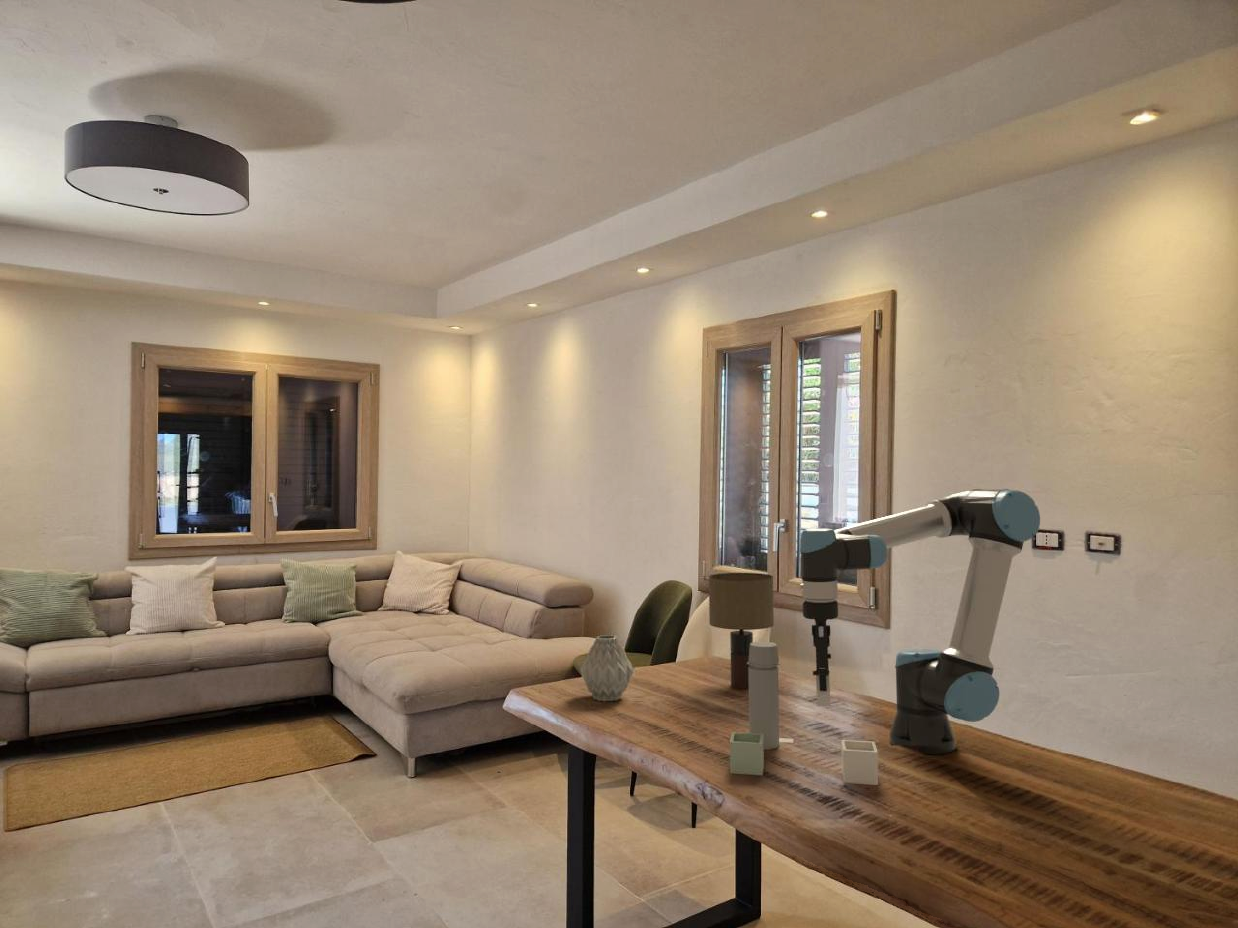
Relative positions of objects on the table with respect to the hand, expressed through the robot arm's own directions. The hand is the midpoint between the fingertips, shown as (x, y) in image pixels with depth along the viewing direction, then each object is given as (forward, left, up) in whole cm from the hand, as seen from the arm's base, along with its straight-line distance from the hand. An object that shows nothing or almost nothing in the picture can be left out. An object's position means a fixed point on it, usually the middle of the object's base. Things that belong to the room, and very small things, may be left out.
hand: (823, 696), depth 175 cm
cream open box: (-7, +1, -18) cm, 19 cm away
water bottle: (+14, -18, -18) cm, 29 cm away
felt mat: (+14, -18, -18) cm, 29 cm away
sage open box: (+17, 0, -18) cm, 25 cm away
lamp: (+23, -76, -18) cm, 82 cm away
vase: (+62, -55, -18) cm, 85 cm away
